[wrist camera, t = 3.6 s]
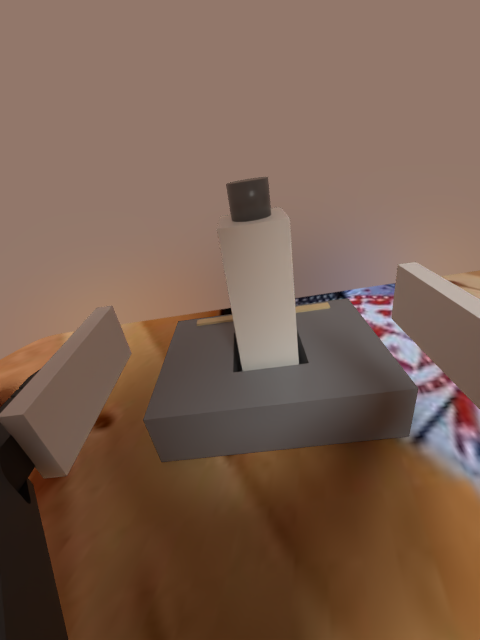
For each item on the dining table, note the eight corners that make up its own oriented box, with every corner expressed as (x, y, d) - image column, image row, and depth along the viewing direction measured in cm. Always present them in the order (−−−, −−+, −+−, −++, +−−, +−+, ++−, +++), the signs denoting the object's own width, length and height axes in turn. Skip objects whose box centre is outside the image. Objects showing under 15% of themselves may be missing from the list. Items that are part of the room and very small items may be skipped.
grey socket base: (346, 334, 29) (348, 296, 27) (409, 436, 18) (418, 385, 16) (188, 355, 30) (177, 319, 28) (161, 462, 19) (142, 417, 17)
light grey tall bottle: (292, 363, 26) (277, 173, 18) (300, 396, 22) (287, 177, 15) (246, 368, 26) (214, 183, 19) (248, 402, 22) (209, 189, 15)
